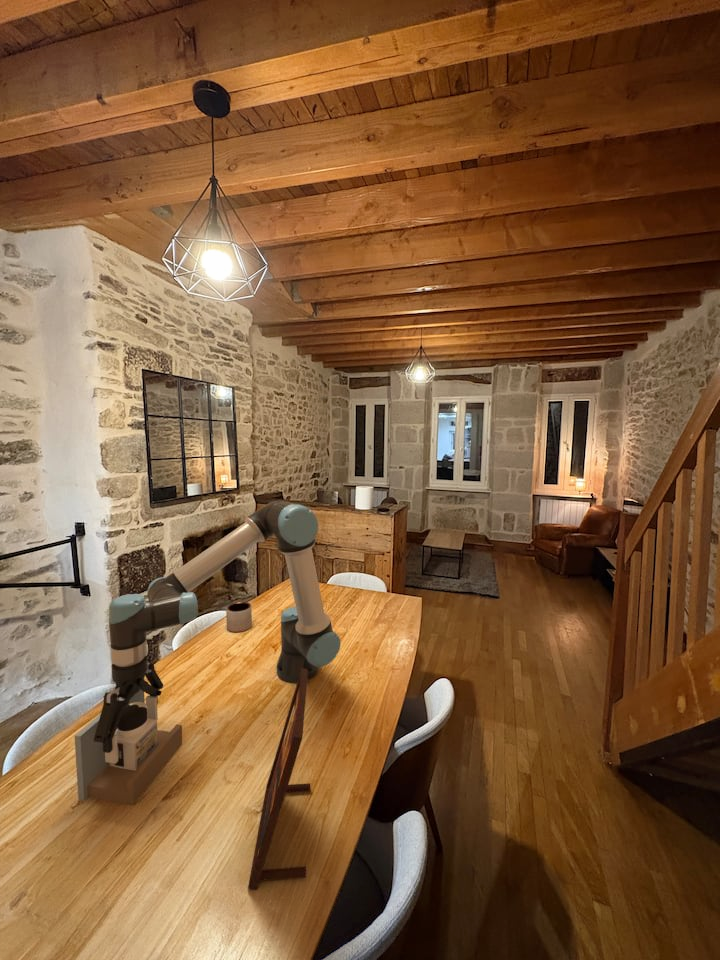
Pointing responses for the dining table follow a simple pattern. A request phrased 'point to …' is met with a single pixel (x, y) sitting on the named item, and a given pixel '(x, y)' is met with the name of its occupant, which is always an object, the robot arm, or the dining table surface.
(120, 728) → the container
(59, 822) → the dining table surface
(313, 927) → the dining table surface
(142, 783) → the wall shelf
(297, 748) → the picture frame
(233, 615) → the planter
